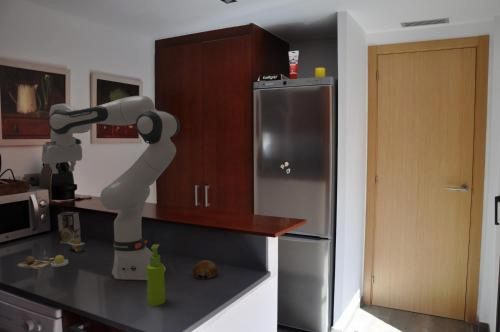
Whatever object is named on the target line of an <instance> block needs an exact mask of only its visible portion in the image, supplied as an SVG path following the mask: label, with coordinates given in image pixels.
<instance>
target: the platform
mask: <svg viewBox="0 0 500 332" xmlns="http://www.w3.org/2000/svg"><path fill="white" fill-rule="evenodd" d="M68 245H71V249H72V250H74V251H75V252H76V253H78V252H83V245H85V242H82V241H80V240H78V239H74V238H73V240H72V239H70V241H69V242H68Z"/></svg>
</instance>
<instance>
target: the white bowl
mask: <svg viewBox="0 0 500 332" xmlns="http://www.w3.org/2000/svg"><path fill="white" fill-rule="evenodd" d="M52 262H54V264H53V263H51V266H50V267H55V268H57V267H64V266H66V265H69V260H68V259H65V258H64V262H63V263H61V264H56V263H55V261H54V260H53V261H52Z"/></svg>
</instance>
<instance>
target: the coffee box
mask: <svg viewBox="0 0 500 332" xmlns="http://www.w3.org/2000/svg"><path fill="white" fill-rule="evenodd" d="M80 221H81V219H80V211H63V212H61V213H59V214H58V215H57V222H58V223H57V224H58V236H59V244H64V245H66V244H68V242H69V241H70V239H72V240H73V238H74V239H78V240H80V242H82V236H81V222H80ZM68 245H69V244H68Z"/></svg>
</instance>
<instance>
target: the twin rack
mask: <svg viewBox="0 0 500 332" xmlns="http://www.w3.org/2000/svg"><path fill="white" fill-rule="evenodd" d="M51 263H53V264H54V262H53V261H46V260H39V259H38V260H37V259H35V262H34V263H33V264H32V265H27V264H26V263H25V261H24V262H23V261H22V262H20V263H18V264H17V265H16V266H17V268H25V269H33V270H34V269H35V270H43V269H45V268H48V267H52V266H51Z"/></svg>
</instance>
